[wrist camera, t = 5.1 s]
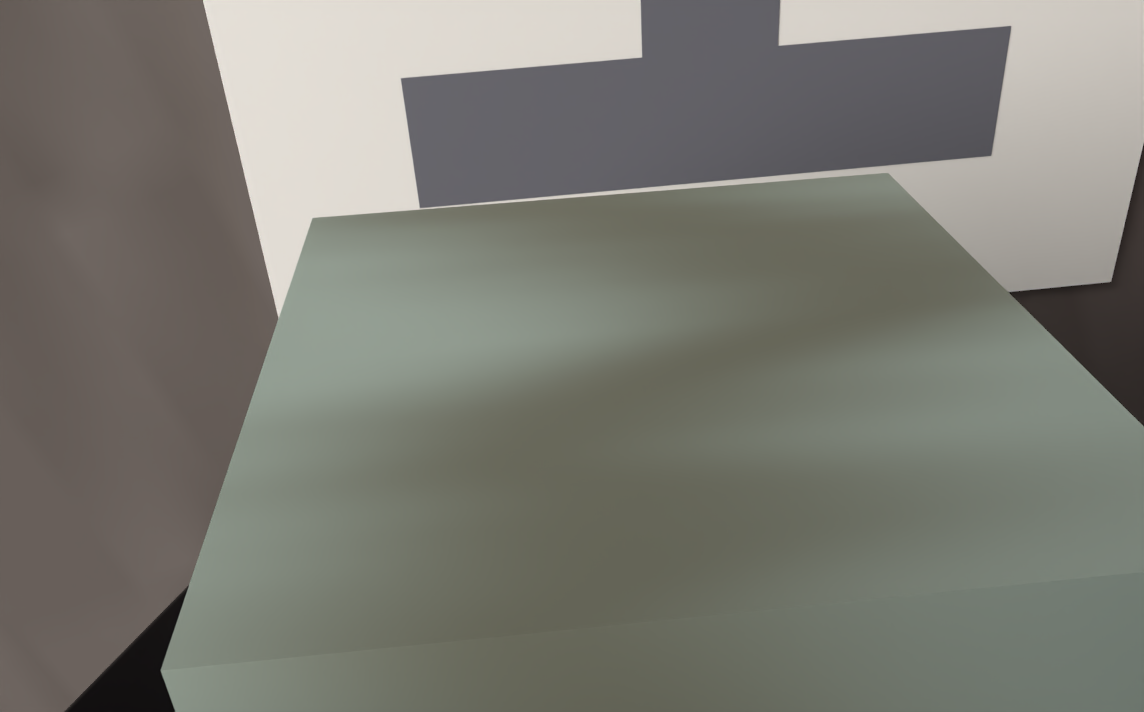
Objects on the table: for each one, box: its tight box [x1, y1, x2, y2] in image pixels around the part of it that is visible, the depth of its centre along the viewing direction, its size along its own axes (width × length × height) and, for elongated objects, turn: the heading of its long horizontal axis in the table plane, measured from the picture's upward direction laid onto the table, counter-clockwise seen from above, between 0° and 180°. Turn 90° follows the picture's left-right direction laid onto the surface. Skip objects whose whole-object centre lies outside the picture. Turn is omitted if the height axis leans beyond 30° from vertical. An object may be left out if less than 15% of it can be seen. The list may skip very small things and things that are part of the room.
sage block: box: [161, 173, 1144, 712], centre depth 8 cm, size 5×5×5 cm
